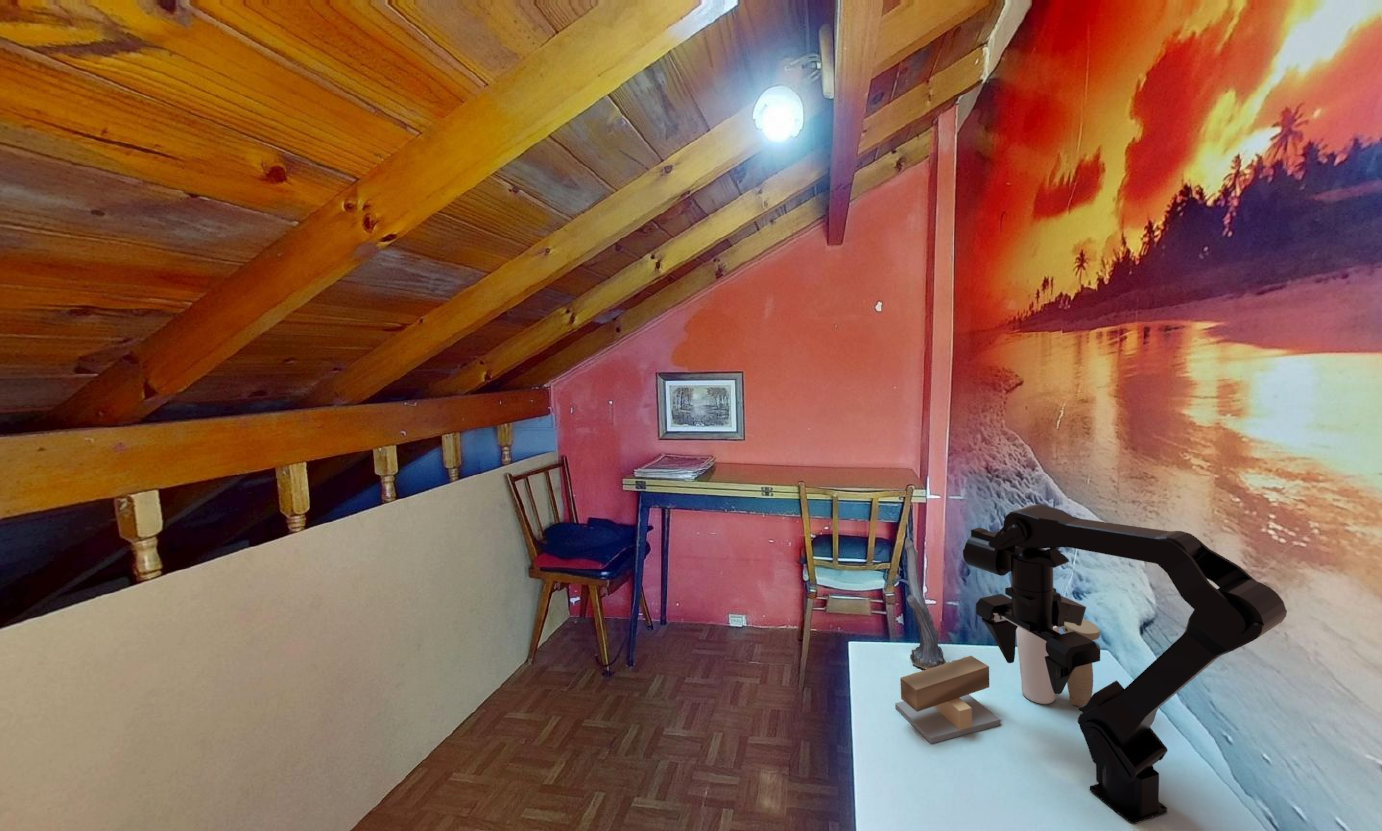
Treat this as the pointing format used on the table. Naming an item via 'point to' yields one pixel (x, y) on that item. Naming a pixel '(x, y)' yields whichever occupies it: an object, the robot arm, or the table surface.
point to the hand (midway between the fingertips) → (1033, 677)
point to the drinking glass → (1034, 667)
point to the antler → (921, 617)
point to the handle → (1082, 675)
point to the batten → (944, 683)
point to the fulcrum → (949, 718)
